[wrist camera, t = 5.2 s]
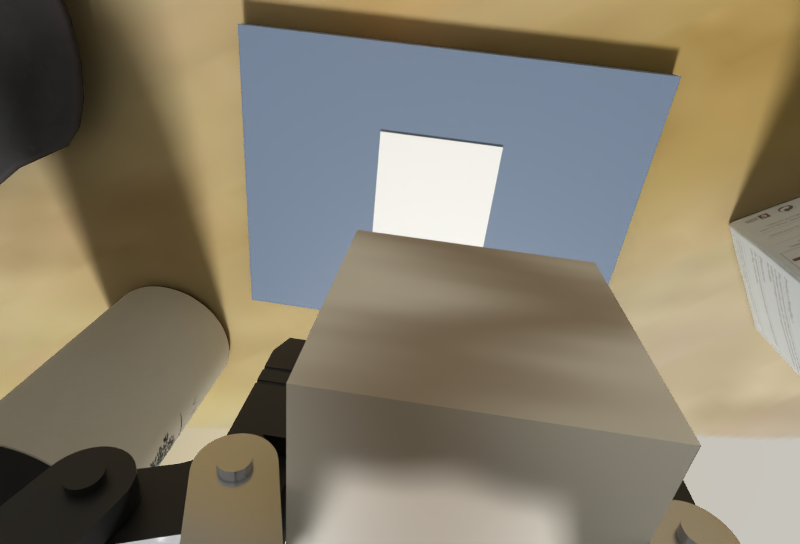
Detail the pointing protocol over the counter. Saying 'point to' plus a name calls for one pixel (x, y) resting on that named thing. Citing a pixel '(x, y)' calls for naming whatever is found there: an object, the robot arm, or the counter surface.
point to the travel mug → (114, 386)
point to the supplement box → (773, 274)
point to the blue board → (434, 152)
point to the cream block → (476, 405)
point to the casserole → (37, 82)
